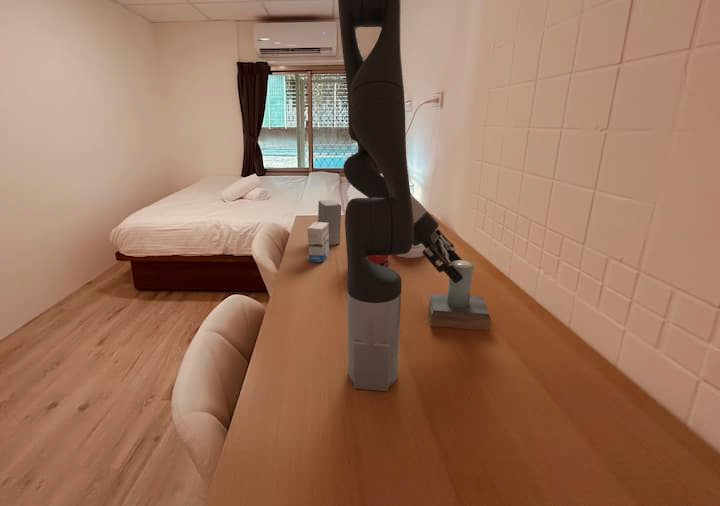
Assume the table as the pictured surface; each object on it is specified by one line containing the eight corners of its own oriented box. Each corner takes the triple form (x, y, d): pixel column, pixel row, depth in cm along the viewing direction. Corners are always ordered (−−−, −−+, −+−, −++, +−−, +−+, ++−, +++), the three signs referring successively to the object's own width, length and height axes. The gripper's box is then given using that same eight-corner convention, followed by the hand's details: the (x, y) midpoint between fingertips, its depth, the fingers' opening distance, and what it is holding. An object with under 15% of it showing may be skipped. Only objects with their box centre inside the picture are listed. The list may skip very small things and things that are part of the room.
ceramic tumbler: (470, 309, 85) (475, 268, 81) (448, 307, 85) (452, 267, 82) (467, 299, 89) (471, 260, 86) (446, 298, 90) (449, 259, 86)
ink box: (322, 263, 122) (321, 229, 118) (308, 262, 123) (306, 228, 119) (330, 254, 130) (329, 222, 126) (316, 253, 131) (315, 221, 127)
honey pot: (426, 258, 126) (430, 206, 120) (388, 256, 128) (390, 205, 122) (426, 246, 138) (429, 198, 132) (391, 244, 140) (393, 197, 134)
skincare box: (317, 240, 144) (315, 200, 139) (334, 238, 147) (333, 198, 142) (324, 247, 137) (323, 205, 132) (342, 244, 140) (341, 203, 135)
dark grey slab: (488, 330, 84) (491, 314, 82) (430, 326, 85) (431, 310, 84) (481, 310, 92) (483, 296, 91) (428, 307, 94) (429, 293, 92)
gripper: (420, 217, 76) (473, 275, 77) (430, 203, 89) (474, 253, 89) (394, 239, 79) (444, 295, 80) (407, 223, 92) (450, 271, 93)
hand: (460, 273), depth 85 cm, fingers open, 8 cm apart
